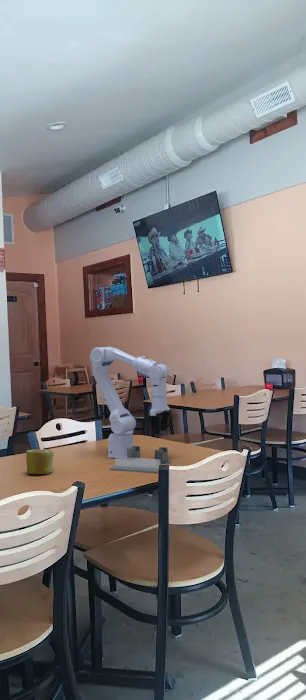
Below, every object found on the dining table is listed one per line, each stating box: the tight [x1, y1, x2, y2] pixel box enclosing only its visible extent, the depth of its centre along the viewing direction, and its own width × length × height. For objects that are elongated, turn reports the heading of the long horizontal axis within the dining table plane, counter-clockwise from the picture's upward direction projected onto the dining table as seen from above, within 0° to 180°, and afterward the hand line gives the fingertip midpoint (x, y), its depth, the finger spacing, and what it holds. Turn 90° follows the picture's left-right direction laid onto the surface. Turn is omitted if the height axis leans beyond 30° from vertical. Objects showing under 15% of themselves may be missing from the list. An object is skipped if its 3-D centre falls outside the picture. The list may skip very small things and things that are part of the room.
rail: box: [114, 457, 160, 470], centre depth 201 cm, size 16×3×3 cm
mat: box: [109, 465, 159, 474], centre depth 201 cm, size 18×7×1 cm, turn 69°
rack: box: [127, 445, 172, 465], centre depth 210 cm, size 16×6×6 cm, turn 68°
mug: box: [25, 448, 55, 475], centre depth 201 cm, size 12×10×10 cm
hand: (160, 432), depth 215 cm, fingers open, 7 cm apart
